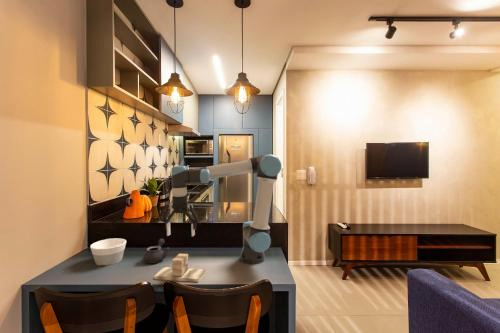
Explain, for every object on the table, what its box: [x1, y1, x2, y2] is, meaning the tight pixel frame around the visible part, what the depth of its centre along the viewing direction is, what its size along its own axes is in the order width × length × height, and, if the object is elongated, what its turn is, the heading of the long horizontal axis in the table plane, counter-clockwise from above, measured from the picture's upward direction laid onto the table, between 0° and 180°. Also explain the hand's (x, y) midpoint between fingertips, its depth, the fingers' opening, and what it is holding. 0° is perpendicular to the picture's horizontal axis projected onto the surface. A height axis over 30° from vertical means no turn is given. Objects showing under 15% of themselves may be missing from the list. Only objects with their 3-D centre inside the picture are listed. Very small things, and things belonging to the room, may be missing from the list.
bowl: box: [90, 237, 127, 266], centre depth 155 cm, size 19×19×11 cm
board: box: [153, 266, 207, 283], centre depth 136 cm, size 24×11×2 cm, turn 82°
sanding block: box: [171, 253, 189, 277], centre depth 136 cm, size 9×5×8 cm, turn 172°
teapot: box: [142, 238, 170, 264], centre depth 159 cm, size 19×15×10 cm
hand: (181, 235), depth 135 cm, fingers open, 13 cm apart
